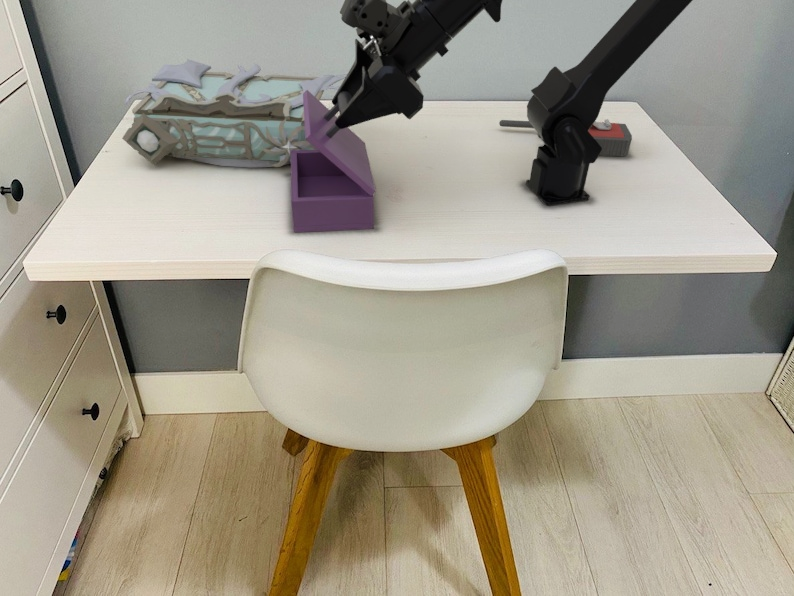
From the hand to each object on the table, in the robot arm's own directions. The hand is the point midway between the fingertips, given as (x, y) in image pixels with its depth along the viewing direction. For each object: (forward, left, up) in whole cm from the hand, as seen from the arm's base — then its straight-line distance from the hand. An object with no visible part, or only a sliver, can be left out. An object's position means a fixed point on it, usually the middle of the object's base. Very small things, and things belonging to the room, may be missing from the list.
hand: (335, 114), depth 78 cm
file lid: (0, 0, -4) cm, 4 cm away
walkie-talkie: (-38, -9, -12) cm, 41 cm away
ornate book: (+9, -22, -12) cm, 26 cm away
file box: (+1, 0, -12) cm, 12 cm away
